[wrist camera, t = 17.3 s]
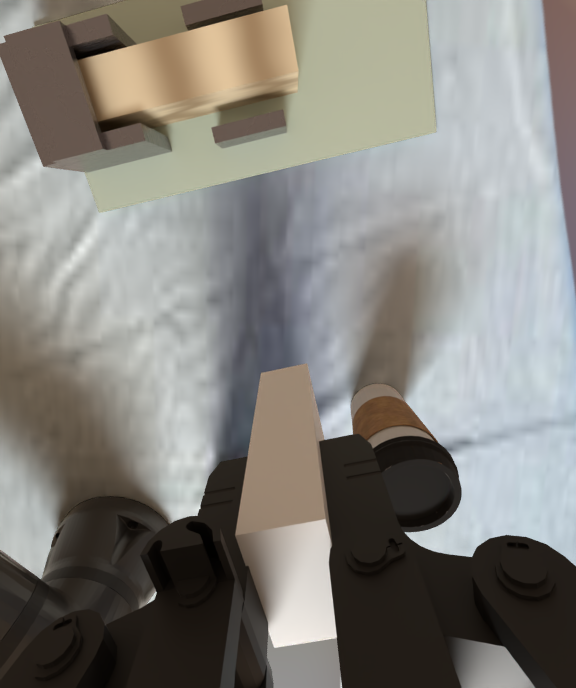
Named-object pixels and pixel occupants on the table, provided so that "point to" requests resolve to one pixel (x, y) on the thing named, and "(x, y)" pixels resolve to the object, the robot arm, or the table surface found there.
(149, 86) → the pine slat
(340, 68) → the sage board
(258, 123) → the open saddle
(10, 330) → the table surface
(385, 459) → the coffee cup
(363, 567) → the robot arm
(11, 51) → the end cap
